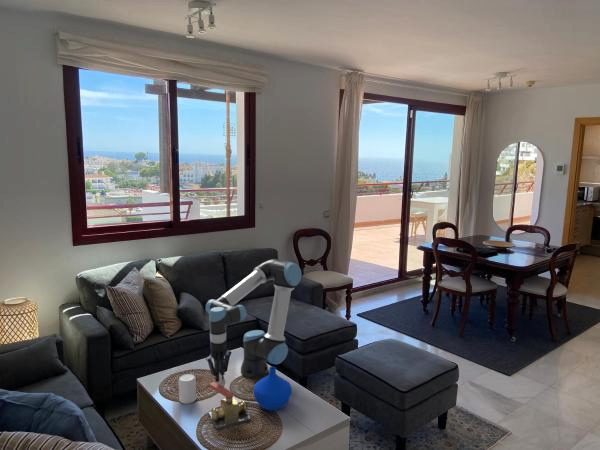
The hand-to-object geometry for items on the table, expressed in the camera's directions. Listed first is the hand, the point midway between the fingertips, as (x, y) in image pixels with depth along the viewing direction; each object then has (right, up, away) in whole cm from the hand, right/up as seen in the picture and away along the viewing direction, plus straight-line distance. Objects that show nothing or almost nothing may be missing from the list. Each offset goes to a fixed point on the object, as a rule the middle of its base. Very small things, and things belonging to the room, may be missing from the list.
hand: (219, 387), depth 212 cm
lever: (+2, -1, -4) cm, 5 cm away
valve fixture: (+6, -12, -7) cm, 15 cm away
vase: (+25, -10, +4) cm, 27 cm away
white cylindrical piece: (-17, -9, +8) cm, 21 cm away
